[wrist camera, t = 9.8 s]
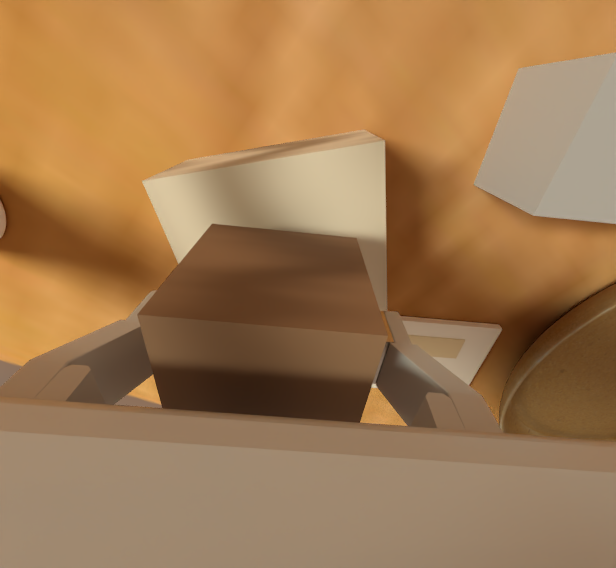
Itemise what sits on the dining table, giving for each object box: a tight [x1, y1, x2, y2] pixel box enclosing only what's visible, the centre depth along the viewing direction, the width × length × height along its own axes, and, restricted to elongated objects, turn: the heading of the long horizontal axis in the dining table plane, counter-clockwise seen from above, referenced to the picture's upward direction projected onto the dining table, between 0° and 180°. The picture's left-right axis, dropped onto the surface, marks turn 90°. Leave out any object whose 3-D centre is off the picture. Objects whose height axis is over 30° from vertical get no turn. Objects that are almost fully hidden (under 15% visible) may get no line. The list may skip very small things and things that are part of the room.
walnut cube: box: [137, 224, 388, 423], centre depth 9 cm, size 5×5×5 cm
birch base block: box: [142, 130, 387, 311], centre depth 15 cm, size 9×9×5 cm
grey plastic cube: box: [474, 53, 616, 224], centre depth 12 cm, size 5×5×5 cm
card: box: [371, 316, 502, 388], centre depth 22 cm, size 10×7×1 cm
